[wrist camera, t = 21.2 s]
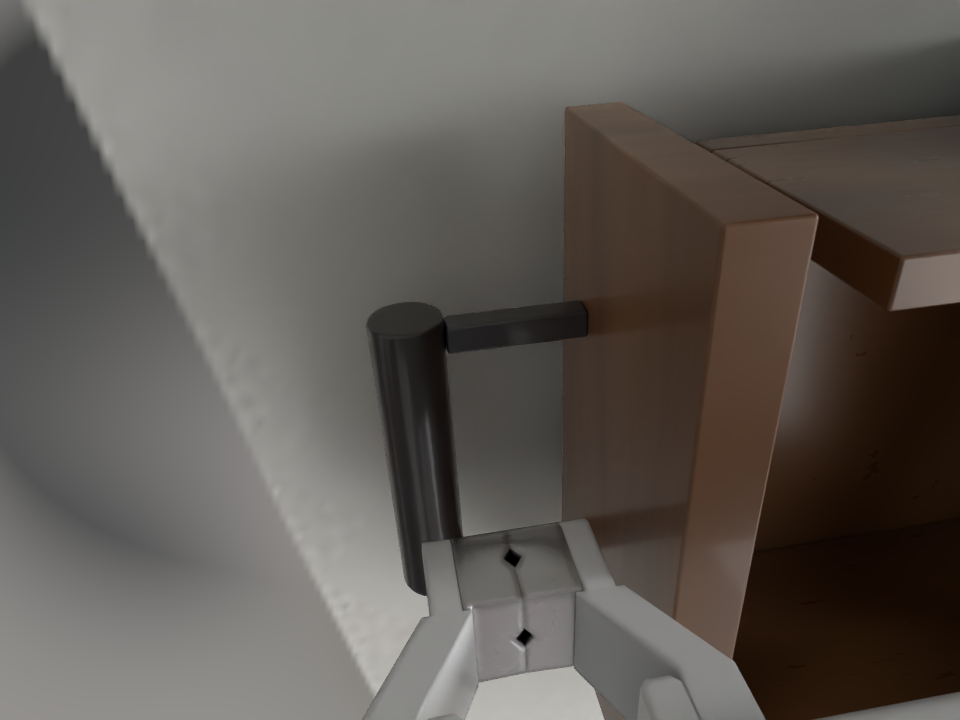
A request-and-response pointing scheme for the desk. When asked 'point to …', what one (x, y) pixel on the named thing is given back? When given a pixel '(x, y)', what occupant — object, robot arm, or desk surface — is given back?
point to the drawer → (740, 396)
